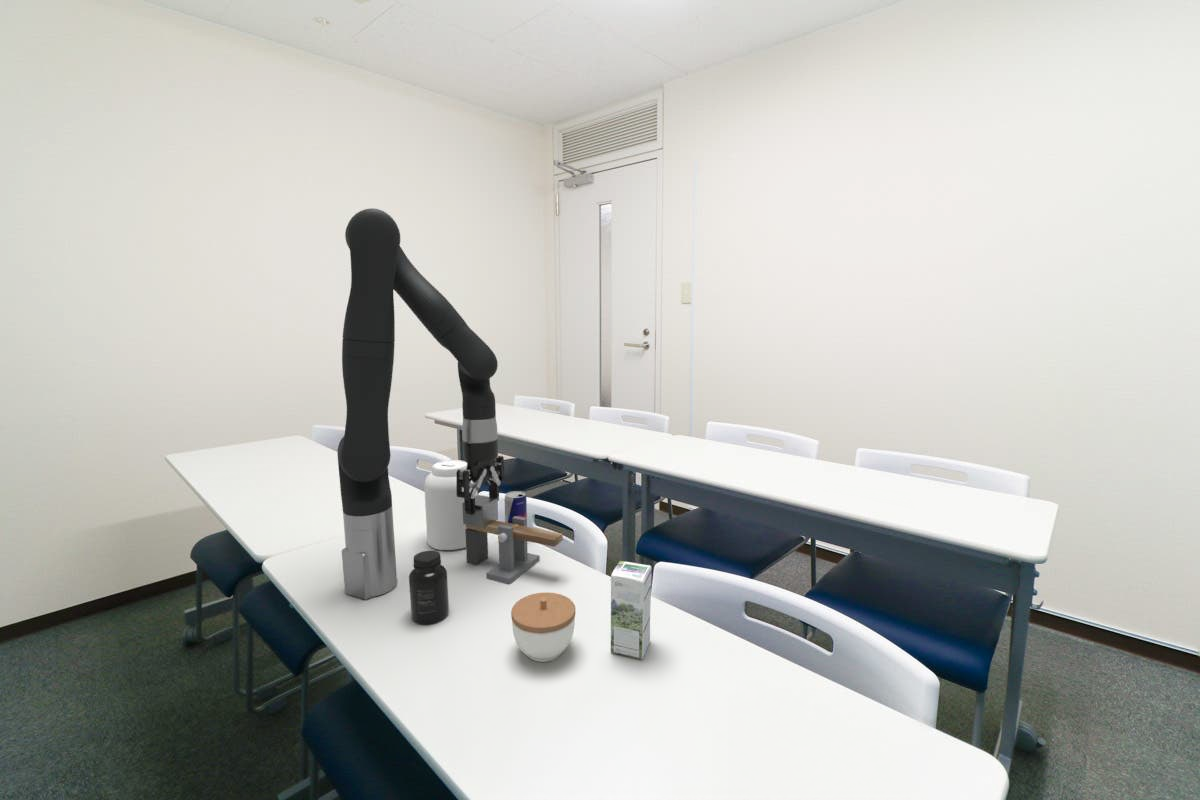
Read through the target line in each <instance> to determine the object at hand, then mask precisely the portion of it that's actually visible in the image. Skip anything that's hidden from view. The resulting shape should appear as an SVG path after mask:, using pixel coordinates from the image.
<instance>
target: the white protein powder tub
mask: <svg viewBox="0 0 1200 800" xmlns="http://www.w3.org/2000/svg"><path fill="white" fill-rule="evenodd" d="M466 468H467V461H466V460H460V459H448V460H447V459H445V460H441V461H438V462H436V463H434V464H433V465H432V467H431V472H430V473H429V474H428V475H427V476H426V478H425V481H424V484H423V486H424V487H423V488H424V500H425V502H424V503H425V505H424V506H425V523H426V540H427V543H428V546H430V547H431V548H432V549H435V550H437V551H438V550H439V551H455V550H461V549H464V548H465V549H466V533H465V529H467V528H466V524H463V508H462V503H463V502H464V498H461V497H457V475H456V473H457V470H465V469H466ZM470 483H473V484H475V483H474V482H472V480H471V482H470ZM471 490H472V488H470V489H469V493H471ZM463 491H464V488H463V487H462V492H463ZM478 491H479V489H477V491H476V494H475V496H477V495H479V493H478Z"/></svg>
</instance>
